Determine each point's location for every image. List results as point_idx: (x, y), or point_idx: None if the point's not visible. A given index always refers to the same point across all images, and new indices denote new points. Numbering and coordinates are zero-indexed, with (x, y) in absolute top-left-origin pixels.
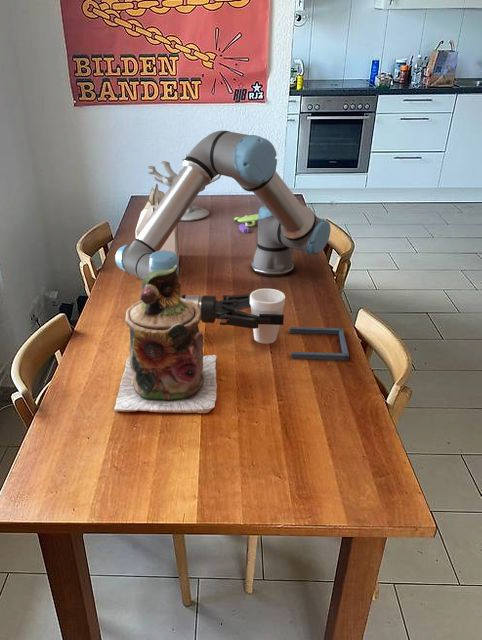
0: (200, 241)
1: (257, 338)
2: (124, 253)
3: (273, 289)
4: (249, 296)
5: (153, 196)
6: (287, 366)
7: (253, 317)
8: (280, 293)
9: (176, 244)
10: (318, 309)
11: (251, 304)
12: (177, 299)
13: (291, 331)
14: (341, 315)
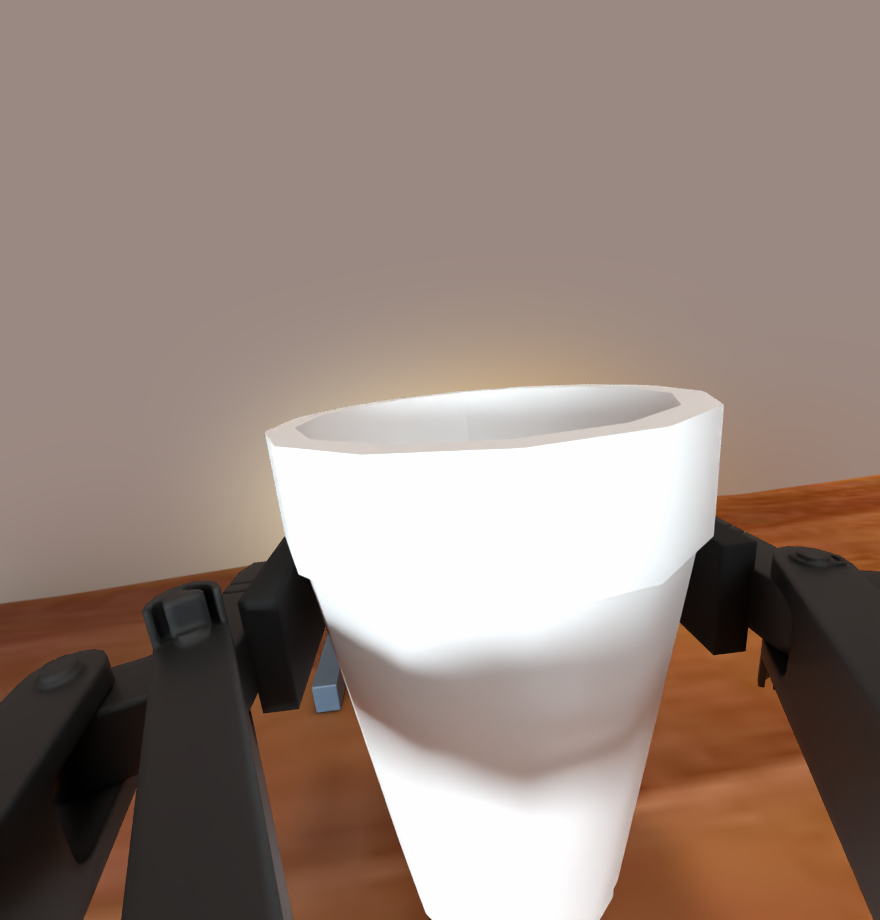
0: None
1: (618, 871)
2: None
3: (316, 414)
4: (44, 766)
5: None
6: (719, 680)
7: (867, 587)
8: (399, 404)
9: None
10: (128, 627)
11: (669, 540)
12: None
13: (341, 691)
14: (226, 572)
